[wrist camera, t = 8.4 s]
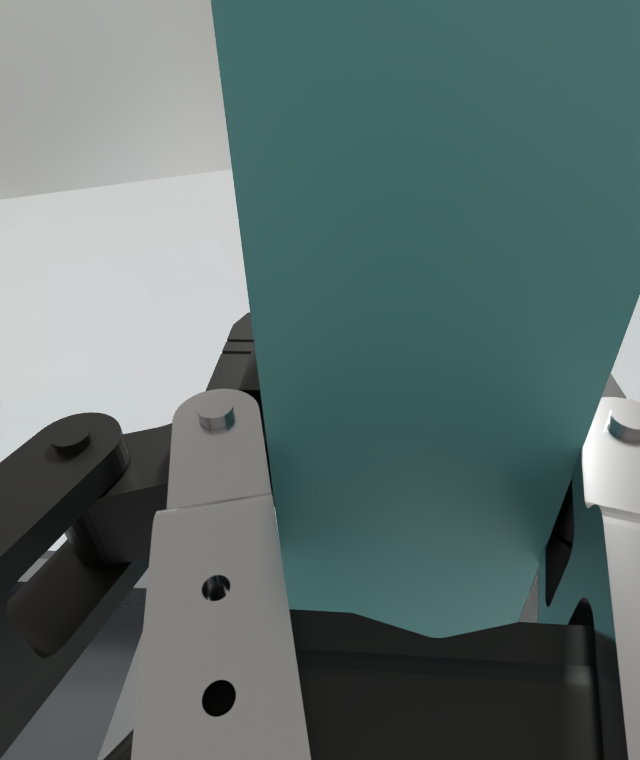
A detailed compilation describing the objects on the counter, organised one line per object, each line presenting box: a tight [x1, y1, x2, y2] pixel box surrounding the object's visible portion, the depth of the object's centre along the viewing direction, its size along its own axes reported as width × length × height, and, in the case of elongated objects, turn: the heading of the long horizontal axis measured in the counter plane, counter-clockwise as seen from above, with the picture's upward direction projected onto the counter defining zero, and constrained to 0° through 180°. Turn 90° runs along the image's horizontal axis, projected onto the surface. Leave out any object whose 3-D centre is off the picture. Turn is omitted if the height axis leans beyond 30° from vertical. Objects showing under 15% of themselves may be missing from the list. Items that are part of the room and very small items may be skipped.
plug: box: [211, 0, 640, 638], centre depth 9 cm, size 4×4×17 cm
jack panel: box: [0, 551, 149, 760], centre depth 17 cm, size 20×12×4 cm, turn 86°
